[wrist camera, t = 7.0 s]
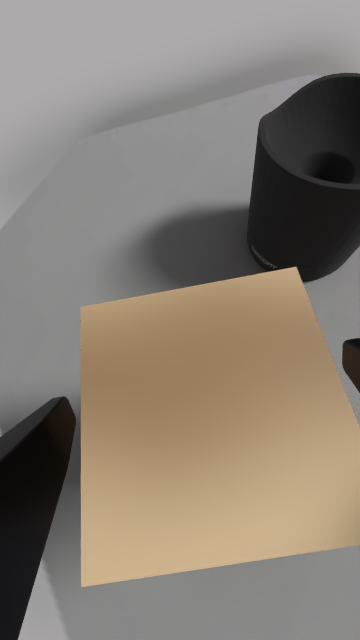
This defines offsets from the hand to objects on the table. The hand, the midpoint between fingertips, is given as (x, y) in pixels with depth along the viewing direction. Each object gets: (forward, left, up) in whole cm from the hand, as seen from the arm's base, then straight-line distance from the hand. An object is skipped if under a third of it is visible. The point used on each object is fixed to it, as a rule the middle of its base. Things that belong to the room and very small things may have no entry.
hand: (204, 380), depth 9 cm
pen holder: (+14, -9, -12) cm, 20 cm away
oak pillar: (-1, 0, -8) cm, 9 cm away
